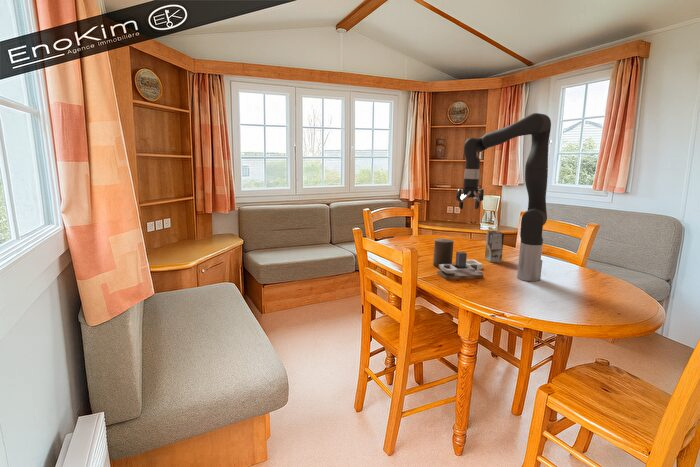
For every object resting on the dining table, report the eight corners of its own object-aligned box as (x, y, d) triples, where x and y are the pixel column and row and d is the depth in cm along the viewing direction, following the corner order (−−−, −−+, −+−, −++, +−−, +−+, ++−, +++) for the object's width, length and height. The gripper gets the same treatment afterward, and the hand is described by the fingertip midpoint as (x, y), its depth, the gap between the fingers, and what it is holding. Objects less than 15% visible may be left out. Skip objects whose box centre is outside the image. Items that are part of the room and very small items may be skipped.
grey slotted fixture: (472, 271, 187) (473, 260, 185) (483, 277, 177) (484, 266, 176) (437, 273, 183) (437, 262, 182) (445, 279, 174) (446, 268, 173)
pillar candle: (447, 269, 190) (449, 240, 187) (429, 265, 196) (431, 237, 193) (454, 265, 197) (456, 237, 195) (437, 262, 203) (439, 235, 200)
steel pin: (461, 271, 182) (463, 251, 180) (465, 273, 178) (466, 253, 176) (454, 271, 181) (456, 251, 179) (458, 273, 178) (459, 253, 176)
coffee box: (501, 262, 203) (504, 233, 200) (490, 262, 203) (492, 233, 200) (495, 258, 212) (498, 230, 209) (484, 257, 212) (486, 230, 209)
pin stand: (473, 263, 200) (474, 259, 199) (482, 268, 191) (482, 264, 191) (457, 264, 198) (458, 260, 198) (465, 269, 190) (466, 264, 189)
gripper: (462, 178, 187) (459, 210, 191) (487, 178, 190) (485, 209, 193) (455, 177, 195) (453, 208, 198) (480, 177, 197) (477, 207, 201)
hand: (468, 208), depth 196 cm, fingers open, 8 cm apart
